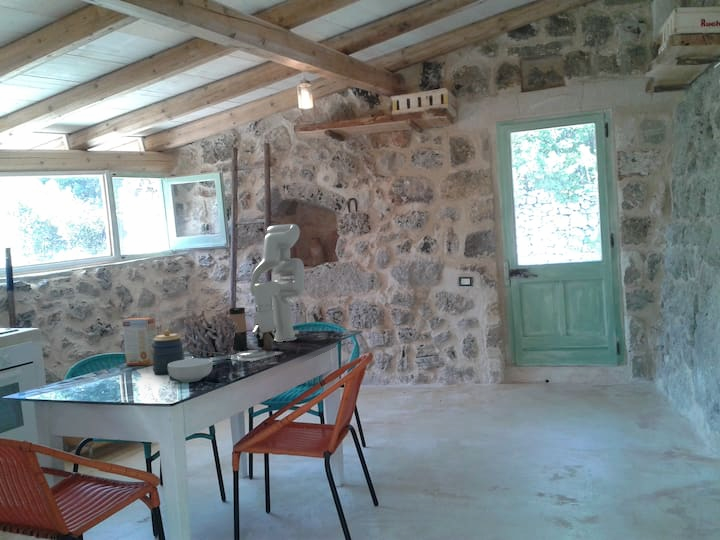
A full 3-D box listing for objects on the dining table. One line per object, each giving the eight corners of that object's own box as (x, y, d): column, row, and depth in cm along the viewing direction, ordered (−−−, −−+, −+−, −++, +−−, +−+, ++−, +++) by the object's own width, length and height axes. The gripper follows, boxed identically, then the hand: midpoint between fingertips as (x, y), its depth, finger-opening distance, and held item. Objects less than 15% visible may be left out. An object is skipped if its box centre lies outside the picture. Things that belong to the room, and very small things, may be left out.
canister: (174, 375, 260) (171, 332, 260) (147, 375, 264) (143, 332, 263) (191, 368, 273) (188, 327, 272) (165, 368, 277) (162, 327, 276)
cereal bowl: (190, 386, 237) (188, 367, 237) (159, 383, 246) (157, 365, 246) (222, 376, 252) (221, 358, 251) (192, 374, 260) (191, 356, 260)
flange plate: (251, 351, 306) (251, 347, 306) (283, 353, 295) (282, 349, 295) (220, 359, 290) (219, 355, 290) (252, 361, 278) (251, 357, 278)
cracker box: (159, 363, 290) (155, 317, 289) (149, 366, 285) (145, 319, 284) (135, 362, 296) (131, 317, 295) (125, 365, 291) (121, 319, 290)
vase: (259, 348, 312) (258, 330, 312) (274, 347, 313) (272, 329, 312) (258, 351, 305) (257, 332, 305) (273, 350, 306) (272, 331, 305)
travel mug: (249, 347, 319) (246, 307, 318) (245, 350, 311) (242, 308, 310) (234, 348, 319) (231, 307, 318) (229, 350, 312) (226, 309, 311)
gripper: (270, 306, 317) (272, 342, 318) (244, 311, 303) (247, 348, 304) (281, 306, 313) (284, 342, 314) (256, 311, 299) (259, 349, 300)
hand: (266, 345), depth 309 cm, fingers closed on vase, 6 cm apart
